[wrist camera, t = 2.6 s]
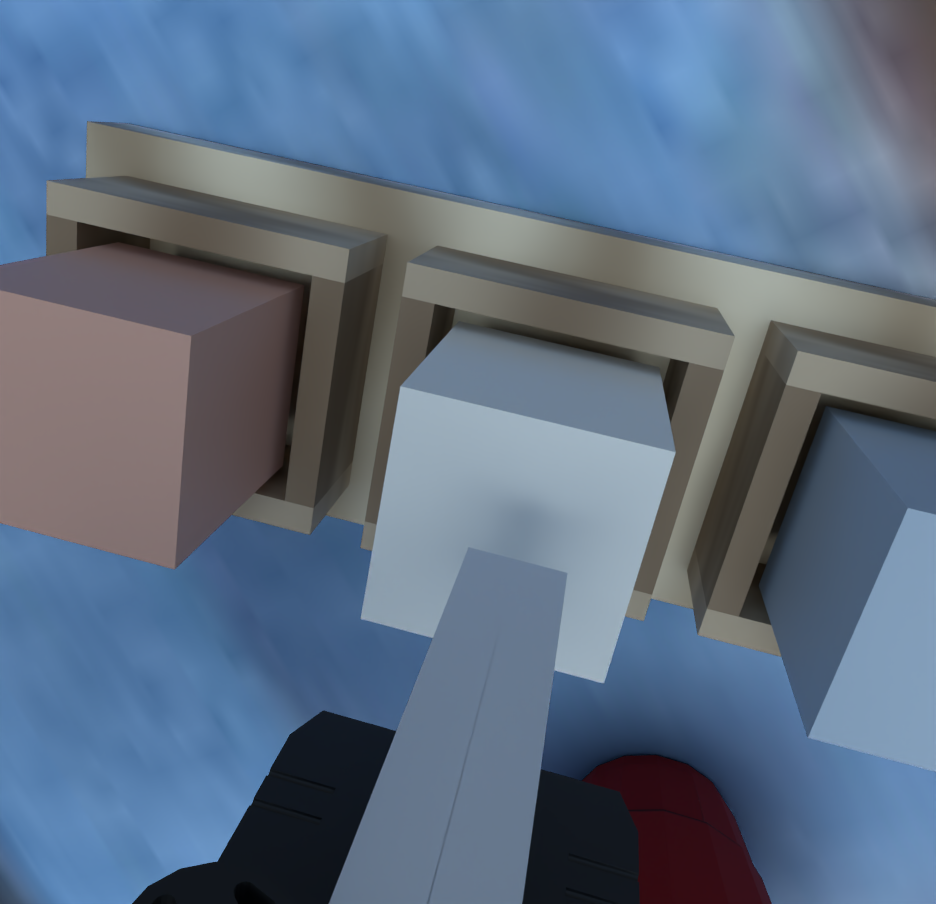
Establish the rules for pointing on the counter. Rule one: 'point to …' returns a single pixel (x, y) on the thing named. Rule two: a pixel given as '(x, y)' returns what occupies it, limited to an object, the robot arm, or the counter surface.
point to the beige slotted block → (528, 314)
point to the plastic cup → (682, 834)
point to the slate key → (861, 588)
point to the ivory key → (522, 481)
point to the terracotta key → (140, 396)
